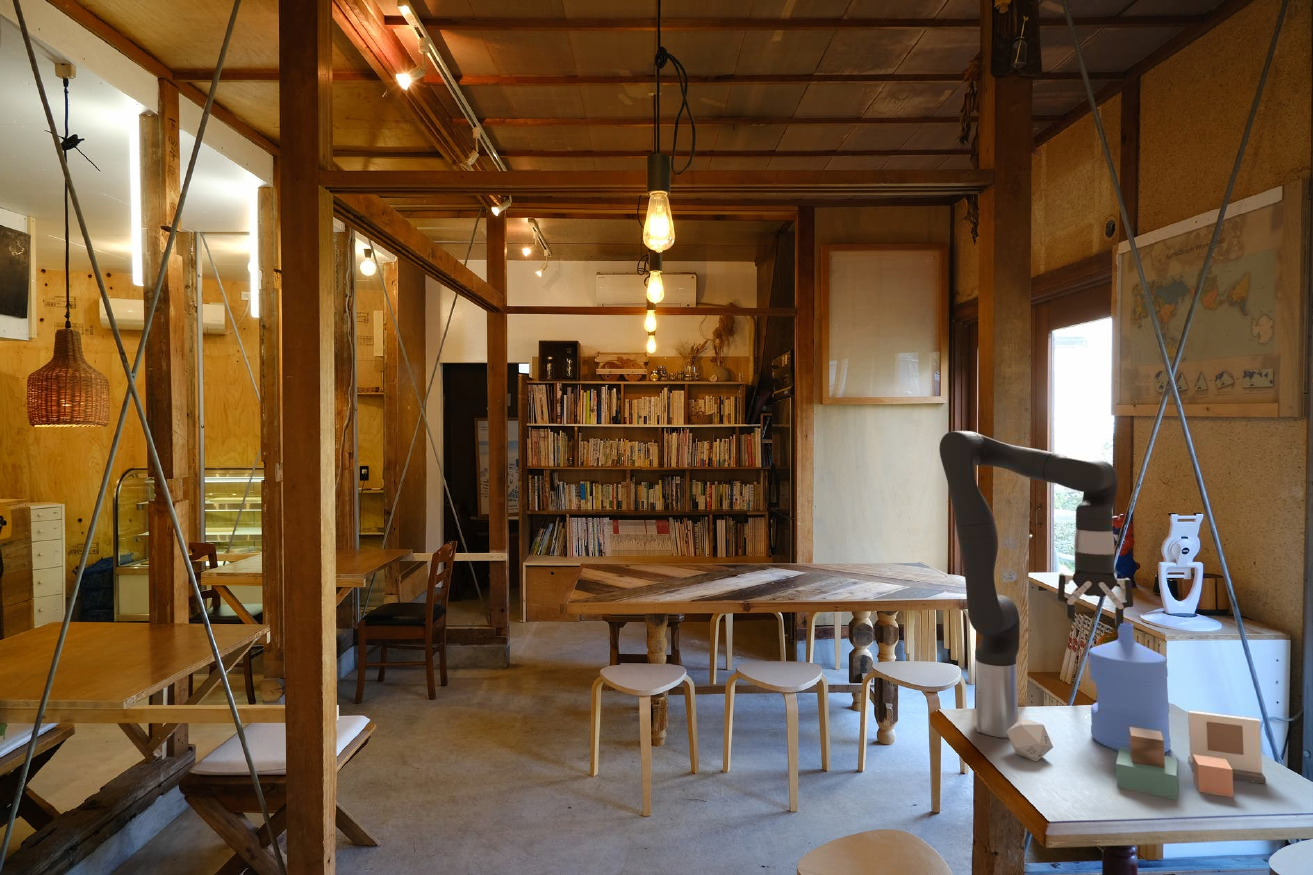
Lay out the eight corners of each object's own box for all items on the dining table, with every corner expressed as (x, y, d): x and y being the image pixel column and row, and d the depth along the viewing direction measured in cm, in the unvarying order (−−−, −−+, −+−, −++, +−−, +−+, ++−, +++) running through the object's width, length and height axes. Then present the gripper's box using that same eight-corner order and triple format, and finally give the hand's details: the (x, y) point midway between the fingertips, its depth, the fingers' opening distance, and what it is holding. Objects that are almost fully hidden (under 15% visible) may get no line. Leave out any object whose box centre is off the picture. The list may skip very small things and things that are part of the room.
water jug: (1186, 749, 163) (1181, 627, 164) (1140, 761, 158) (1135, 634, 158) (1120, 726, 178) (1116, 613, 179) (1076, 736, 172) (1071, 620, 173)
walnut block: (1132, 762, 147) (1131, 735, 147) (1130, 752, 151) (1129, 726, 152) (1164, 767, 144) (1163, 740, 144) (1161, 757, 149) (1160, 731, 149)
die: (1017, 766, 158) (1046, 736, 155) (992, 734, 165) (1019, 705, 162) (1039, 772, 161) (1068, 743, 158) (1014, 741, 168) (1040, 712, 166)
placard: (1193, 772, 152) (1191, 715, 152) (1188, 761, 157) (1186, 707, 157) (1265, 783, 146) (1263, 724, 146) (1257, 772, 151) (1255, 715, 152)
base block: (1117, 787, 146) (1116, 763, 146) (1120, 770, 154) (1119, 746, 154) (1177, 801, 140) (1176, 775, 140) (1177, 782, 148) (1177, 758, 148)
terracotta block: (1199, 791, 143) (1198, 764, 144) (1193, 780, 148) (1192, 754, 148) (1233, 797, 141) (1232, 769, 141) (1227, 786, 146) (1225, 758, 146)
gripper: (1130, 550, 158) (1130, 623, 158) (1056, 545, 165) (1057, 615, 165) (1134, 554, 152) (1135, 630, 152) (1058, 550, 158) (1058, 623, 158)
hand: (1094, 623), depth 158 cm, fingers open, 8 cm apart
